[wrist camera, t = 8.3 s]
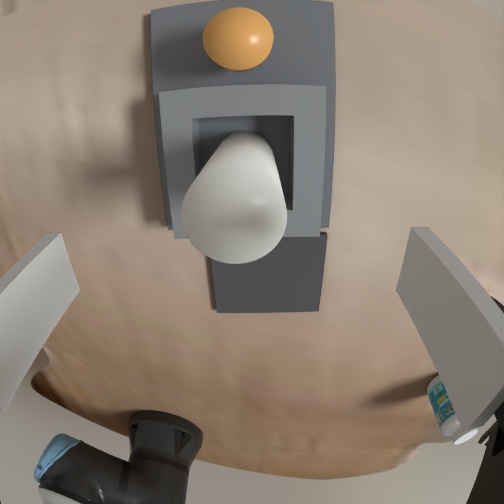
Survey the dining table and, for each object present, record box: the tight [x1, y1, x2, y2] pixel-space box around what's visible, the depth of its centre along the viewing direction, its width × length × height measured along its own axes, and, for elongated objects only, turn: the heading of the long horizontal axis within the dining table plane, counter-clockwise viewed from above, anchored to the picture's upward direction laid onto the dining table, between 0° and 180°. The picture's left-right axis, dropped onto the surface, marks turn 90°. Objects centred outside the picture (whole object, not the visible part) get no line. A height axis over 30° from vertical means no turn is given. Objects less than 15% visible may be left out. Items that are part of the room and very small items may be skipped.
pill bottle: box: [427, 375, 478, 445], centre depth 39 cm, size 8×7×14 cm
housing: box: [151, 0, 336, 239], centre depth 24 cm, size 16×22×4 cm
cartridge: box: [181, 130, 287, 264], centre depth 20 cm, size 5×5×14 cm
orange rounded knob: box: [203, 7, 274, 72], centre depth 18 cm, size 5×5×3 cm
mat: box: [211, 232, 327, 313], centre depth 33 cm, size 12×10×1 cm
